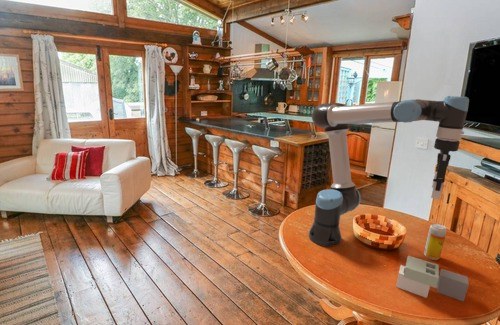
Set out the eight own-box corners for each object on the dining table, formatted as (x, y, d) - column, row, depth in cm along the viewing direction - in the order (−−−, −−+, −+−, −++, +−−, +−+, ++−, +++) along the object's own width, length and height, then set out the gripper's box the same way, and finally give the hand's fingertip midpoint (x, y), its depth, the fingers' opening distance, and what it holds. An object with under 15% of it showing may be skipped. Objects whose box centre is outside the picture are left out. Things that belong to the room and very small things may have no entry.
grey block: (403, 276, 103) (405, 267, 102) (405, 264, 110) (407, 255, 109) (436, 288, 98) (438, 278, 97) (436, 274, 105) (438, 264, 104)
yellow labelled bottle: (441, 261, 123) (449, 230, 119) (426, 259, 124) (433, 228, 120) (436, 254, 129) (443, 223, 125) (421, 252, 130) (428, 222, 126)
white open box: (395, 286, 107) (400, 264, 104) (397, 278, 111) (402, 256, 109) (426, 298, 101) (432, 275, 99) (427, 288, 106) (432, 266, 104)
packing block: (437, 292, 105) (441, 275, 103) (437, 284, 109) (441, 268, 107) (463, 301, 100) (468, 284, 99) (462, 293, 105) (467, 276, 103)
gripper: (462, 146, 93) (447, 205, 99) (458, 136, 114) (446, 186, 119) (435, 142, 97) (423, 200, 103) (436, 133, 117) (425, 182, 123)
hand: (435, 193), depth 111 cm, fingers open, 13 cm apart
